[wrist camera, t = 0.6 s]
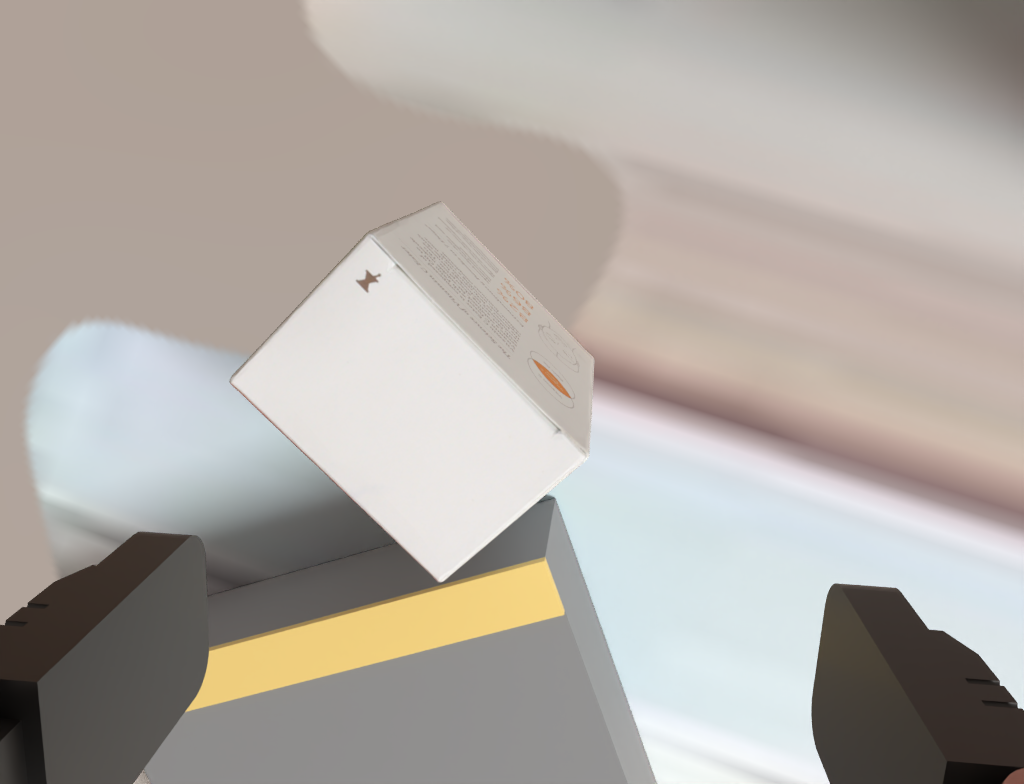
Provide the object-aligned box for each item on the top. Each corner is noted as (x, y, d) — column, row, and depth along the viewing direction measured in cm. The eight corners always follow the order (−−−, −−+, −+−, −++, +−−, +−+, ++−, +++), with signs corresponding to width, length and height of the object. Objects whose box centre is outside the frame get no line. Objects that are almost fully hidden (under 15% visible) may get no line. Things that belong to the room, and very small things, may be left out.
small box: (337, 304, 33) (216, 377, 23) (443, 195, 32) (363, 224, 22) (490, 458, 34) (437, 593, 24) (600, 360, 33) (592, 460, 23)
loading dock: (555, 498, 34) (544, 560, 29) (677, 842, 38) (687, 952, 33) (163, 608, 38) (93, 682, 33) (310, 917, 41) (267, 1026, 36)
